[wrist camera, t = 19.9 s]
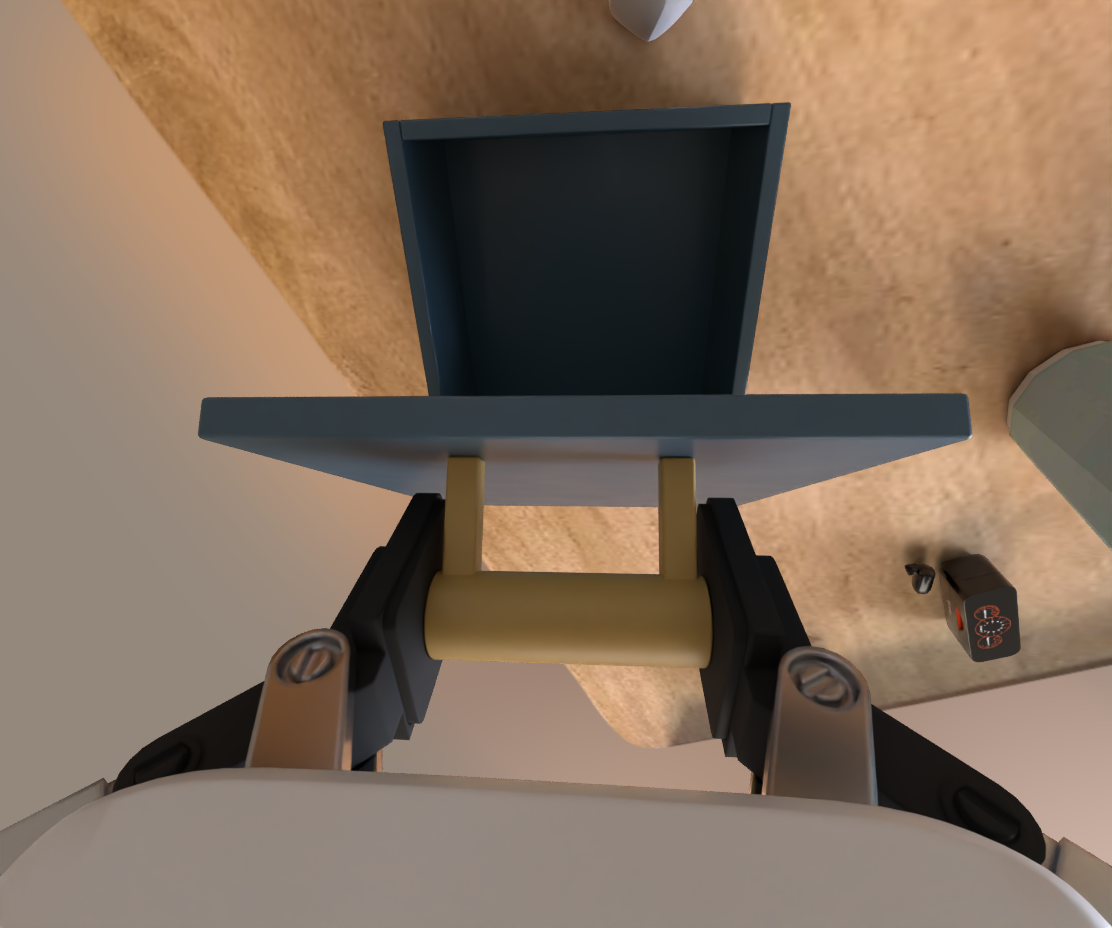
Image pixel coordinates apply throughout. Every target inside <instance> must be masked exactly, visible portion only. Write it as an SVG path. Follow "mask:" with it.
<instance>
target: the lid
mask: <svg viewBox="0 0 1112 928" xmlns="http://www.w3.org/2000/svg"><path fill="white" fill-rule="evenodd" d="M198 436H199V437H200V438H202V439H205V440H208V441H212V442H215V443H219V444H223V445H227V446H230V447H234V448H238V449H241V450H244V451H248V452H252V453H255V454H259V455H263V456H266V457H271V458H274V459H277V460H281V461H285V462H288V463H293V464H296V465H300V466H303V467H307V468H310V469H314V470H318V471H322V472H325V473H329V474H332V475H337V476H340V477H343V478H347V479H351V480H354V481H358V482H362V483H366V484H369V485H373V486H376V487H380V488H384V489H387V490H391V491H394V492H398V493H402V494H406V495H409V496H414V495H415V493H440V494H441V496H442V499H445V520H444V542H443V563H442V570H441V571H438V572H437V573H436V574H435V576H434V577H433V579H432V582H431V584H430V587H429V591H428V595H427V599H426V605H425V614H424V637H425V645H426V649H427V652H428V655H429V656H430V657H431V658H432V659H434V660H467V661H495V662H496V661H497V662H527V663H557V664H587V665H618V666H648V667H679V668H706V667H708V665H709V663H710V660H711V655H712V647H713V618H712V607H711V599H710V594H709V590H708V586H707V583H706V581H705V579H704V577H703V576H701V575H698V561H697V519H696V507H698V504H706V501H707V498H708V497H713V498H734V500H735V502H736V505H737V506H739V505H742V504H746V503H749V502H753V501H756V500H760V499H763V498H767V497H770V496H774V495H777V494H780V493H784V492H787V491H791V490H794V489H798V488H801V487H805V486H808V485H811V484H815V483H818V482H822V481H825V480H829V479H832V478H836V477H839V476H843V475H846V474H849V473H853V472H856V471H860V470H863V469H867V468H870V467H874V466H877V465H881V464H884V463H887V462H891V461H894V460H898V459H901V458H905V457H908V456H912V455H915V454H919V453H922V452H925V451H929V450H932V449H936V448H939V447H943V446H946V445H950V444H953V443H956V442H960V441H963V440H967V439H969V438H971V436H972V429H971V419H970V409H969V400H968V396H967V395H966V394H962V393H921V394H740V395H559V396H378V397H211V398H210V397H209V398H204V399H203V400H202V404H201V413H200V421H199V430H198ZM484 505H507V506H605V507H658V510H659V574H613V573H562V572H511V571H481V563H482V535H483V508H484Z"/></svg>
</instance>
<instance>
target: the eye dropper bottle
mask: <svg viewBox="0 0 1112 928" xmlns="http://www.w3.org/2000/svg"><path fill="white" fill-rule="evenodd" d="M693 1H694V0H609V7H610V12H611V14H612V15H613V17H614V18H615V19H616V20H617V21H618V22H619V23H620V24H621V25H623V26H624V27H625V28H626V29H628V30H629V31H630V32H631V33H633V34H634V35H635V36H637V37H638V38H639V39H641V40H643V41H647V42H649V41H652V40H655V39H656V38H658V37H659V36H661V35H662V34H663V33H664V32H665V31H666V30H668V29H669V28H670V27H671V26H672V25H673V24H674V23H675V22H676V21H677V20H678V19H679V18H680V17H681V15H682V14H683V13H684V12H685V11H686V10H687V8H688V7H689V6H690V5H691V3H692V2H693Z"/></svg>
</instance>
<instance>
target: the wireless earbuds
mask: <svg viewBox="0 0 1112 928" xmlns="http://www.w3.org/2000/svg"><path fill="white" fill-rule="evenodd" d="M905 569H906V572H907V574H908V575H913V576H912V586H913V589H914V590H915V591H916V592H917V593H918V594H927V593H928V592H929V591H930V590H931V588H932V585H933V581H934V578H935V571H934V569H933V568H932V567H931V566H929V565H927V564H921V563H919V564H916V563H913V564H907V565H905ZM939 577H940V583H941V589H942V595H943V602H944V608H945V614H946V621H947V625H948V627H949V629H950V630H951V631H952V633H953V634H954V636H955V637H956V638H957V640H958V641H959V643H960V644H961V645H962V647H963V648H964V650H965V651H966V652H967V654H968V655H969V656H970V658H971V659H972V660H973V661H975V662H984V661H989V660H993V659H998V658H1003V657H1008V656H1012V655H1014V654H1016V653H1017V652H1019V650H1020V648H1021V647H1020V632H1019V618H1018V604H1017V591H1016V589H1015V588H1014V587H1013V586H1012V585H1011V583H1010V582H1009V581H1008V580H1007V579H1006V578H1005V577H1004V576H1003V575H1002V574H1001V573H1000V572H999V571H998V570H997V568H996V567H995V566H994V565H993V564H992V563H991V562H990V561H989V560H988V559H987V558H986V557H985V556H983V555H980V554H973V555H969V556H965V557H961V558H957V559H953V560H949V561H946V562H943V563H942V564H941V565H940V566H939Z"/></svg>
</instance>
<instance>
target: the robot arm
mask: <svg viewBox="0 0 1112 928" xmlns="http://www.w3.org/2000/svg"><path fill="white" fill-rule="evenodd" d="M696 519H697V561H698V575H701V576H703V577H704V579H705V581H706V583H707V586H708V590H709V594H710V599H711V607H712V618H713V647H712V655H711V660H710V663H709V665H708V667H706V668H699V671H700V676H701V681H702V687H703V692H704V697H705V702H706V708H707V713H708V718H709V724H710V729H711V733H712V736H713V738H716V739H722V743H723V748H724V753H725V757H737V758H738V761H740V762H741V763H742V764H743V765H744V766H746V767H747V768H748V769H749V770H750V771H751V777H750V784H749V792H748V794H743V793H728V792H713V791H697V790H681V789H665V788H649V787H634V786H617V785H601V784H582V783H567V782H566V783H565V782H550V781H532V780H515V779H497V778H480V777H462V776H441V775H423V774H405V773H386V772H382V748H384V747H385V746H387V745H388V744H389V743H391V742H392V741H393V739H401V740H409V739H410V736H411V733H412V730H413V727H414V724H415V723H418V724H420V723H422V722H423V720H424V717H425V714H426V711H427V708H428V705H429V701H430V698H431V695H432V692H433V689H434V686H435V682H436V679H437V676H438V673H439V669H440V666H441V663H442V660H434V659H432V658H431V657H430V656H429V655H428V652H427V649H426V645H425V637H424V614H425V605H426V599H427V595H428V591H429V587H430V584H431V582H432V579H433V577H434V576H435V574H436V573H437V572H438V571H441V570H442V563H443V542H444V520H445V499H442V496H441V494H440V493H415V495H414V496H413V498H412V500H411V501H410V503H409V505H408V507H407V509H406V511H405V512H404V514H403V516H402V518H401V520H400V522H399V523H398V525H397V527H396V529H395V531H394V532H393V534H392V536H391V538H390V540H389V542H388V543H387V545H386V547H384V546H380V547H378V548H376V550H375V551H374V552H373V554H372V556H371V558H370V559H369V561H368V563H367V565H366V566H365V568H364V570H363V572H362V573H361V575H360V577H359V579H358V580H357V582H356V584H355V586H354V587H353V589H352V591H351V593H350V595H349V596H348V598H347V600H346V602H345V603H344V605H343V607H342V609H341V610H340V612H339V614H338V615H337V617H336V619H335V621H334V622H333V624H332V626H331V628H330V629H327V628H323V629H314V630H311V631H308V632H304V633H301V634H300V635H297V636H296V637H294V638H292V639H290V640H289V641H288V642H286V643H285V644H284V645H283V646H281V647H280V648H279V649H278V650H277V652H276V653H275V654H274V655H273V656H272V658H271V661H270V663H269V665H268V668H267V673H266V676H265V681H263V682H261V683H260V684H258V685H256V686H254V687H252V688H250V689H249V690H247V691H245V692H243V693H241V694H239V695H237V696H235V697H234V698H232V699H230V700H228V701H226V702H224V703H222V704H221V705H219V706H217V707H215V708H213V709H211V710H209V711H208V712H206V713H204V714H202V715H201V716H199V717H196V718H195V719H193V720H191V721H189V722H187V723H185V724H183V725H182V726H180V727H178V728H176V729H174V730H172V731H171V732H169V733H167V734H165V735H163V736H161V737H159V738H158V739H156V740H155V741H153V742H151V743H150V744H148V745H147V746H145V747H144V748H142V749H141V750H140V751H139V752H138V753H137V754H136V755H135V756H133V757H132V759H130V760H129V762H128V763H127V764H126V765H125V767H124V768H123V769H122V770H121V772H120V773H119V775H118V777H117V779H116V780H114V781H112V782H110V783H107V782H106V780H105V779H104V778H102V779H100V780H98V781H97V782H95V783H93V784H91V785H89V786H87V787H85V788H83V789H81V790H79V791H77V792H75V793H73V794H71V795H69V796H67V797H66V798H63V799H61V800H59V801H58V802H56V803H54V804H52V805H50V806H48V807H46V808H44V809H42V810H40V811H38V812H36V813H34V814H33V815H31V816H29V817H27V818H25V819H23V820H21V821H19V822H17V823H15V824H13V825H11V826H9V827H7V828H5V829H3V830H1V831H0V928H1112V866H1111V865H1109V864H1107V863H1105V862H1104V861H1102V860H1101V859H1099V858H1098V857H1096V856H1094V855H1093V854H1091V853H1089V852H1087V851H1086V850H1084V849H1083V848H1081V847H1079V846H1078V845H1076V844H1075V843H1073V842H1071V841H1069V840H1068V839H1066V838H1065V837H1063V838H1062V839H1061V840H1060V841H1059V843H1058V842H1057V841H1055V840H1053V839H1052V838H1050V837H1048V836H1047V835H1045V834H1044V833H1042V831H1041V828H1040V827H1039V825H1038V824H1037V822H1036V821H1035V819H1034V818H1033V816H1032V815H1031V813H1030V812H1029V811H1028V810H1027V809H1026V808H1025V807H1024V806H1023V805H1022V804H1021V802H1019V800H1018V799H1017V798H1016V797H1015V796H1013V795H1012V794H1011V793H1009V792H1008V791H1007V790H1005V789H1004V788H1003V787H1001V786H1000V785H999V784H997V783H995V782H994V781H992V780H991V779H989V778H988V777H986V776H984V775H983V774H981V773H980V772H978V771H977V770H975V769H973V768H972V767H970V766H969V765H967V764H965V763H964V762H962V761H961V760H959V759H958V758H956V757H954V756H953V755H951V754H950V753H948V752H946V751H945V750H943V749H942V748H940V747H939V746H937V745H935V744H934V743H932V742H930V741H929V740H927V739H926V738H924V737H923V736H921V735H919V734H918V733H916V732H915V731H913V730H912V729H910V728H908V727H907V726H905V725H904V724H902V723H901V722H899V721H897V720H896V719H894V718H893V717H891V716H889V715H888V714H886V713H885V712H883V711H882V710H880V709H878V708H877V707H875V706H874V705H872V704H871V696H870V690H869V686H868V683H867V681H866V679H865V678H864V676H863V675H862V673H861V672H860V670H859V669H858V668H856V667H855V666H854V665H853V664H852V663H851V662H850V661H849V660H847V659H845V658H844V657H842V656H841V655H839V654H837V653H835V652H832V651H830V650H827V649H824V648H819V647H813V646H811V644H810V641H809V639H808V637H807V634H806V632H805V630H804V627H803V625H802V623H801V620H800V618H799V615H798V613H797V611H796V608H795V606H794V604H793V601H792V599H791V597H790V594H789V592H788V590H787V587H786V585H785V583H784V580H783V578H782V575H781V573H780V571H779V568H778V566H777V564H776V562H775V560H774V558H773V557H771V556H758V555H756V554H755V552H754V549H753V546H752V544H751V541H750V539H749V536H748V533H747V531H746V528H745V526H744V523H743V520H742V518H741V515H740V512H739V510H738V507H737V505H736V502H735V500H734V498H713V497H708V498H707V501H706V504H698V507H697V514H696Z"/></svg>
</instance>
